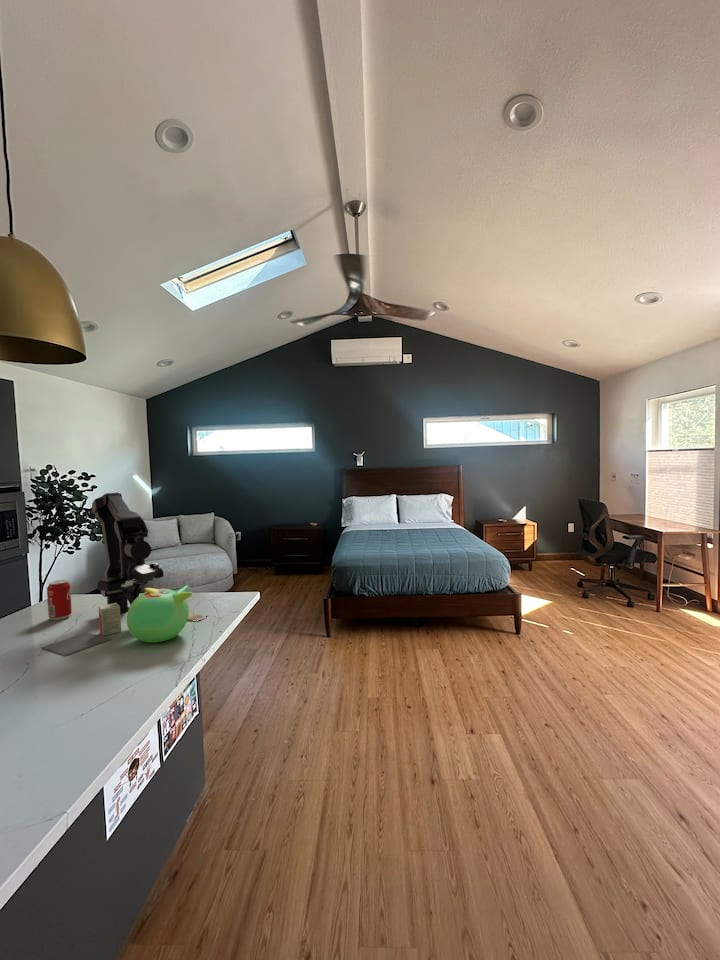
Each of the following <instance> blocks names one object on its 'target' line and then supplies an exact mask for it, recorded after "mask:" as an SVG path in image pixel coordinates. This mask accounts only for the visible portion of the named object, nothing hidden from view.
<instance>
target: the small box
mask: <svg viewBox="0 0 720 960" xmlns="http://www.w3.org/2000/svg"><path fill="white" fill-rule="evenodd" d="M98 619H99V621H98V622H99V633H100V634H101V635H100V636H104V637H105V636H108V635H111V634H116V633H120V632H122V621H121V619H122V618H121V613H120V606H119V605H118V604H117V603H113V604H109V605H107V604H105V605H100V606H98Z"/></svg>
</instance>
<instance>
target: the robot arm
mask: <svg viewBox="0 0 720 960" xmlns="http://www.w3.org/2000/svg"><path fill="white" fill-rule="evenodd" d="M91 510H92V513H93V514H94V519H95V520H96V521H97V522H98V523H99V524H100V525H101V529H102V536H103V542H104V549H105V556H106V562H107V563H106V564H107V567H106V569H105V570H104V571H105V572H104V573H103V578H102V579H99V580H98V582H97V584H96V588H97V590H98V591H100V594H101V596H103V597H104V598H106V603H107V604H106V605H109V604H113V603H117V604H118V605H119V606H120V614H122V613H125V612H128V610H129V608H130V606H131V604H132V603H133V601H134V600H135V599H136V598H137V597H138V596H140V595H141V594H140V593H141V591H142V589H143V587H144V586H145V585H147V584H148V583H149V582H152V581H153V580H154V579H160V578H163V577H164V576H165V575H164V572H165V571H164V569H162V567H160V565H159V563H158V562H153V563H150V564H146V561H145V560H146V559H148V558H149V556H151V553H152V547H151V545H150V543H149V542H147V541H146V540H144V539H145V538H148V536H149V535H148V533H149V530H148V527H147V525H146V522H145V521H144V518H143V517H142V516H141V515H140V514H139V513H137V512H135V511H132V510H130V508H129V507H128V505H127V503H126V502H125V500H124V499H123V496H122V493H121V492H106V493H104V494H103V495H101V496H99V497H97V498H95V499H93V501H92V503H91ZM128 602H129V603H128Z"/></svg>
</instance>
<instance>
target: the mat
mask: <svg viewBox="0 0 720 960" xmlns="http://www.w3.org/2000/svg"><path fill="white" fill-rule="evenodd" d="M111 640H112V638H111V637H107V636H105V635H104V636H102V635H99V634H95V633H92V632H88V631H86V632H83V633H80V634H77V635H74V636H72V637H68V638H65V639H62V640H59V641H57V642H56V641H55V642H53V643H50V644H48V645H44V646H41V649H42V650H46V651H47V652H48V651H49V652H51V653H54V652H55V654H58V655H61V656H65V657H67V656H70V655H74V654H76V653H79V652H81V651H85V650H86V649H90V648H93V647H95V646H98V645H100V644H103V643H106V642H109V641H111Z"/></svg>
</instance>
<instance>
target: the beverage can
mask: <svg viewBox="0 0 720 960" xmlns="http://www.w3.org/2000/svg"><path fill="white" fill-rule="evenodd" d="M48 583H49V584H48V586H47V587H46V593H47V594H46V595H47V612H48V618H49V619H51V621H60V619H61V620H65V619H68V618H69V617H70V616H71V615H72V613H73V612H72V595H71V594H72V593H71V584H70V583H69V582H68V580H67V579H57V580H53V581H50V582H48ZM67 617H68V618H67Z"/></svg>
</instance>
